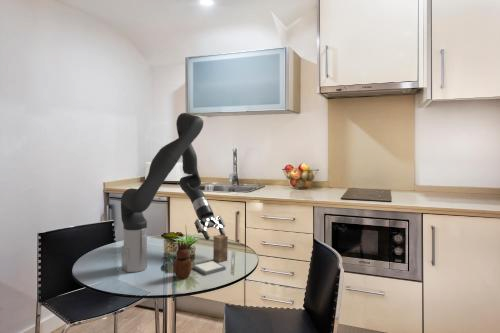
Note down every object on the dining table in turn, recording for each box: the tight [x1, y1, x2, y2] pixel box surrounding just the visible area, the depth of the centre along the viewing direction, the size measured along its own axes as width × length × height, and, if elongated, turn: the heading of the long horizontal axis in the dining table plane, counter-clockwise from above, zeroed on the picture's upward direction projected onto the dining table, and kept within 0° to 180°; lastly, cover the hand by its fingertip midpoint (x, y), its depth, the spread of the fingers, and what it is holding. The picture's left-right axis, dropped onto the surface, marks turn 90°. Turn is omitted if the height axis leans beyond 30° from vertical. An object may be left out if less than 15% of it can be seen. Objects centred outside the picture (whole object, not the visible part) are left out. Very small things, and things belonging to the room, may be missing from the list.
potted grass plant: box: [173, 239, 193, 279], centre depth 136 cm, size 7×6×15 cm
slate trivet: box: [192, 260, 227, 276], centre depth 145 cm, size 10×10×1 cm
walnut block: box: [212, 234, 229, 264], centre depth 156 cm, size 4×4×11 cm
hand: (216, 237), depth 158 cm, fingers open, 8 cm apart
